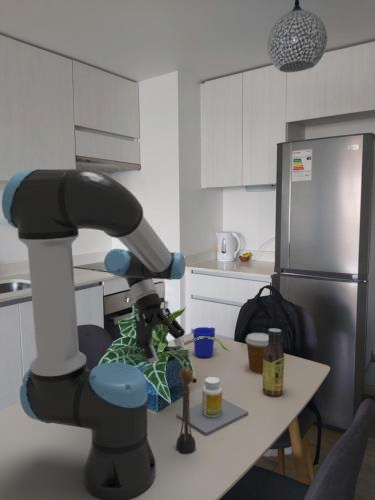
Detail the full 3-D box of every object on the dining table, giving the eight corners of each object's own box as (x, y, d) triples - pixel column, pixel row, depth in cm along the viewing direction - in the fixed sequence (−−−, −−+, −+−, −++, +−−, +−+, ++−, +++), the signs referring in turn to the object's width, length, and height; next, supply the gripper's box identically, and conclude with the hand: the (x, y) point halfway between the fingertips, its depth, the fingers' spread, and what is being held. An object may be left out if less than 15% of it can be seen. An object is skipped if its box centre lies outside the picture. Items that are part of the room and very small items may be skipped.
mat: (205, 435, 99) (205, 432, 99) (176, 416, 109) (176, 413, 109) (248, 414, 110) (248, 411, 110) (217, 398, 119) (217, 396, 119)
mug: (222, 351, 158) (222, 326, 157) (207, 361, 148) (208, 335, 147) (204, 347, 162) (204, 323, 161) (189, 356, 152) (189, 331, 151)
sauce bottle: (277, 399, 119) (279, 334, 116) (258, 393, 122) (260, 330, 120) (286, 391, 124) (288, 329, 122) (268, 385, 127) (269, 325, 125)
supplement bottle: (198, 412, 109) (198, 379, 108) (212, 406, 113) (212, 373, 112) (211, 420, 105) (211, 386, 104) (225, 413, 109) (226, 380, 108)
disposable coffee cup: (239, 366, 142) (240, 334, 141) (261, 362, 146) (262, 331, 145) (255, 377, 134) (255, 342, 132) (277, 372, 138) (278, 338, 136)
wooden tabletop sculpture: (202, 451, 93) (202, 370, 91) (186, 458, 91) (186, 374, 88) (188, 439, 98) (188, 361, 96) (172, 445, 95) (172, 366, 93)
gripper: (163, 298, 134) (187, 358, 128) (108, 306, 113) (134, 378, 107) (178, 288, 130) (204, 350, 124) (125, 295, 109) (153, 369, 103)
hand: (171, 363), depth 116 cm, fingers open, 13 cm apart
